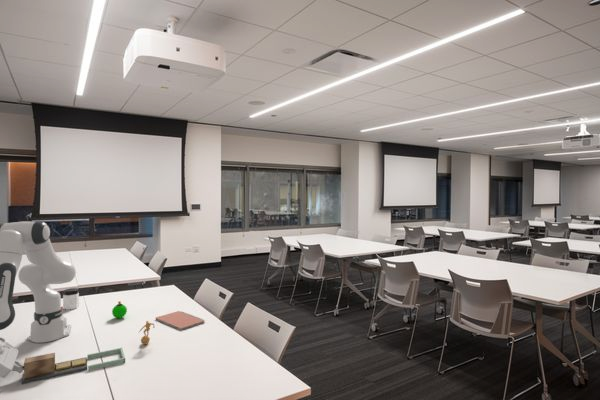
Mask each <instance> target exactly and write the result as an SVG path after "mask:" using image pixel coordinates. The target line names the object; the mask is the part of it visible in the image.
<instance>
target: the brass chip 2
mask: <svg viewBox="0 0 600 400" xmlns="http://www.w3.org/2000/svg"><path fill="white" fill-rule="evenodd" d="M82 358H83V359H80V358H77V359H78V360H75V359H73V360H74V361H72V368H75V367H80V366H84V365H86V358H85V357H82Z"/></svg>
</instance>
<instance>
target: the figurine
mask: <svg viewBox="0 0 600 400" xmlns="http://www.w3.org/2000/svg"><path fill="white" fill-rule="evenodd" d="M145 322H146V323H145V325H144V326H142V327H141V329H139V331H138V333H140V332H141V331H142V330H143V334H144V336H142V337H141V338H140V342H141V344H143V345H147V344H149V342H150V337H149V335H150V334H149V331H150V329H151V325H153V327H152V328H153V329H155V323H154V322H153V323H152V322H149V321H148V320H146V321H145Z"/></svg>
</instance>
